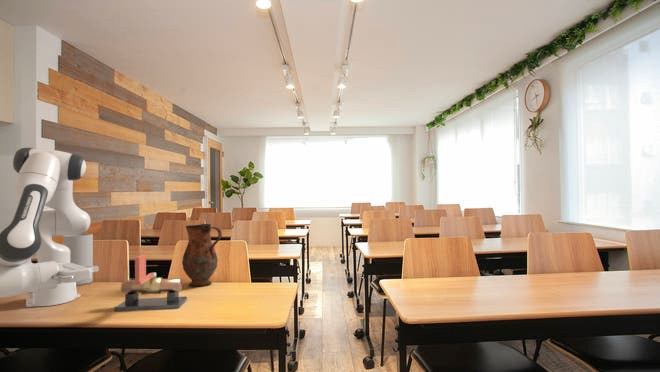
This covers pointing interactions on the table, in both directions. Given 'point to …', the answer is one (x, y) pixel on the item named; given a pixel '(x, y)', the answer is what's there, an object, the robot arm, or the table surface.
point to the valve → (151, 288)
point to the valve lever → (142, 270)
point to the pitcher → (200, 255)
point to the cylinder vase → (80, 251)
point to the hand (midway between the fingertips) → (97, 268)
